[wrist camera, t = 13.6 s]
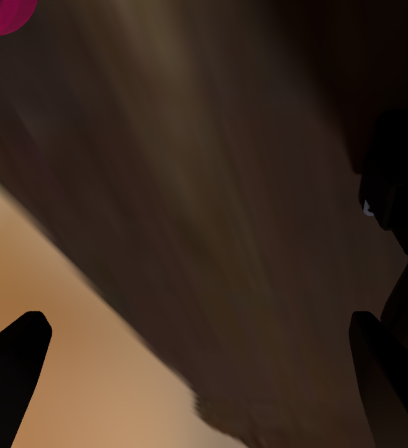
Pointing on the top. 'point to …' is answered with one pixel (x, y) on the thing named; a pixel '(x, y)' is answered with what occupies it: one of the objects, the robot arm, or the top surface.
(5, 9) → the pepper mill
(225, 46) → the top surface
